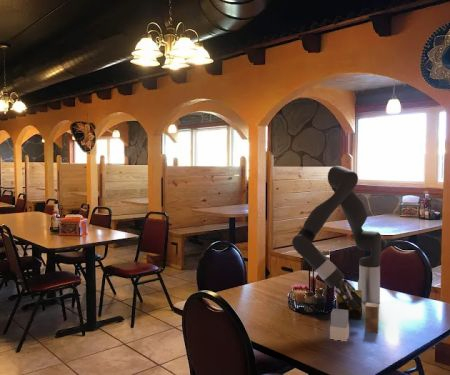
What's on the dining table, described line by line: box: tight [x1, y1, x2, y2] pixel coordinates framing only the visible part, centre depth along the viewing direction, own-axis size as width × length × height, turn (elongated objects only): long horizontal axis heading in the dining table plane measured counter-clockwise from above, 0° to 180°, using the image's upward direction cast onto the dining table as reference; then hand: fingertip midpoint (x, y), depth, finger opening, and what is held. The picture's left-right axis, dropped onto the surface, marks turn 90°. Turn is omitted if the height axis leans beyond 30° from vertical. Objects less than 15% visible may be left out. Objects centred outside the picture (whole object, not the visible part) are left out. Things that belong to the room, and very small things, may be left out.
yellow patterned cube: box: [336, 289, 363, 321], centre depth 186 cm, size 10×10×10 cm
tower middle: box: [330, 308, 349, 328], centre depth 161 cm, size 6×6×5 cm
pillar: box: [364, 303, 380, 334], centre depth 169 cm, size 4×4×10 cm
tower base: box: [329, 322, 350, 342], centre depth 162 cm, size 6×6×5 cm
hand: (359, 304), depth 170 cm, fingers open, 8 cm apart
